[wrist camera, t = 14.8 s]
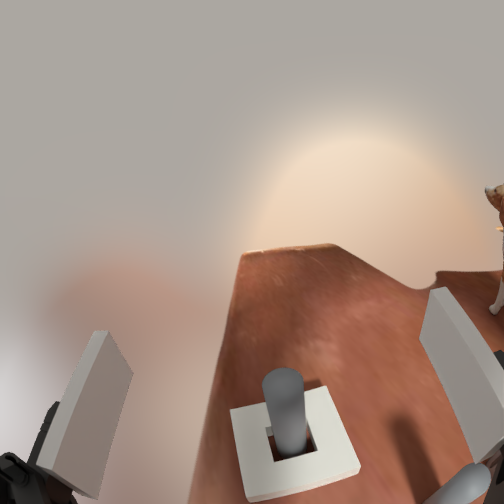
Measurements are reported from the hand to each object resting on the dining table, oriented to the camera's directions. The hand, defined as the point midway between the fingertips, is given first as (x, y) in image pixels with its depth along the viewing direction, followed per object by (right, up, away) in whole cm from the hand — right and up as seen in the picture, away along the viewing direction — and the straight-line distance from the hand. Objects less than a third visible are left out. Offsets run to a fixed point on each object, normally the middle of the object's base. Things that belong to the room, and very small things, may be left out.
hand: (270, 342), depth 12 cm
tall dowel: (+5, -23, +24) cm, 33 cm away
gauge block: (+5, -23, +24) cm, 33 cm away
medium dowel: (+21, -28, +10) cm, 36 cm away
